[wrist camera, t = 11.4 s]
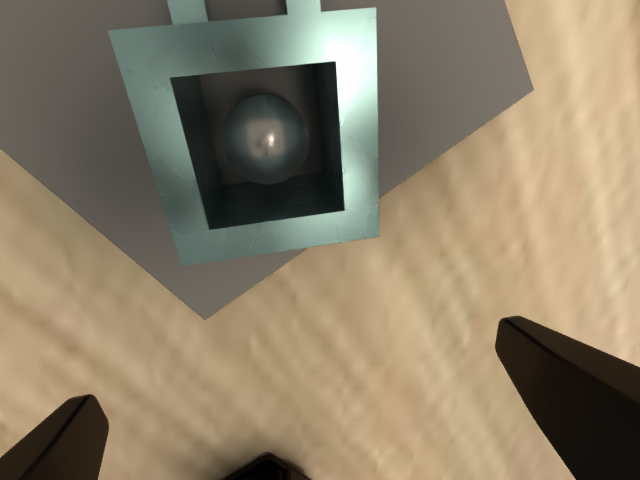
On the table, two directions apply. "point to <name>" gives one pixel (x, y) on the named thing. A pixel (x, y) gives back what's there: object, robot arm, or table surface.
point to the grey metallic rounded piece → (265, 137)
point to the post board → (220, 97)
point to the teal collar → (197, 141)
